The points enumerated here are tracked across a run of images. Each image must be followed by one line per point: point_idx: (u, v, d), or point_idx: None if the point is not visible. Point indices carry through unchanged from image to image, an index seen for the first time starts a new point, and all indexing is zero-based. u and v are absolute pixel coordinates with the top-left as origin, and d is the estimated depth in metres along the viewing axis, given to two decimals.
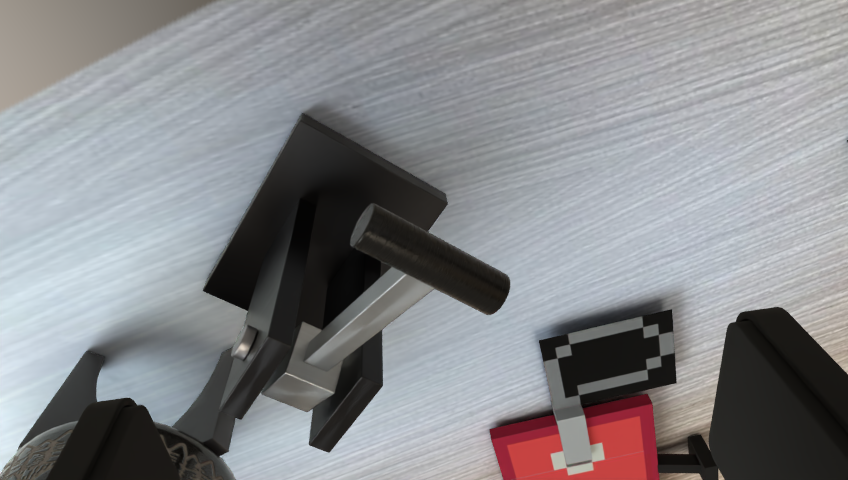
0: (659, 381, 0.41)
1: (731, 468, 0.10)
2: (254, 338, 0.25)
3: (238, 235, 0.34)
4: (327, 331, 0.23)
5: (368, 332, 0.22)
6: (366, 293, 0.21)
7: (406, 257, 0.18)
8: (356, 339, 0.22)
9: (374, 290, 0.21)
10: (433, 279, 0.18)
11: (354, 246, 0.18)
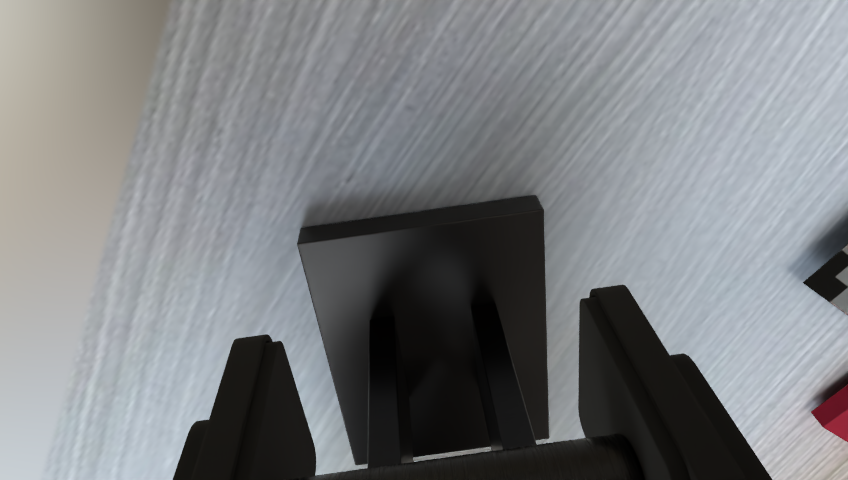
0: None
1: (590, 434, 0.11)
2: None
3: (341, 395, 0.26)
4: None
5: None
6: None
7: None
8: None
9: None
10: None
11: None
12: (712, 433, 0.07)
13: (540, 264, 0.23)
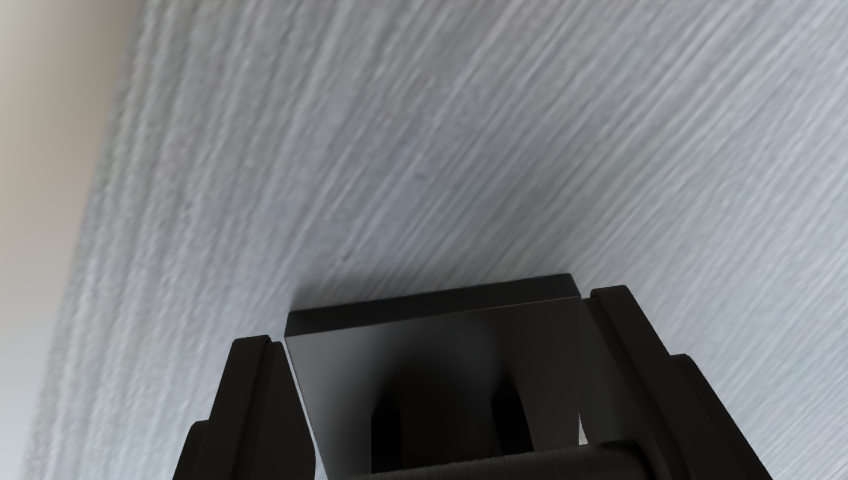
0: None
1: (591, 434, 0.11)
2: None
3: None
4: None
5: None
6: None
7: None
8: None
9: None
10: None
11: None
12: (712, 433, 0.07)
13: (575, 355, 0.20)
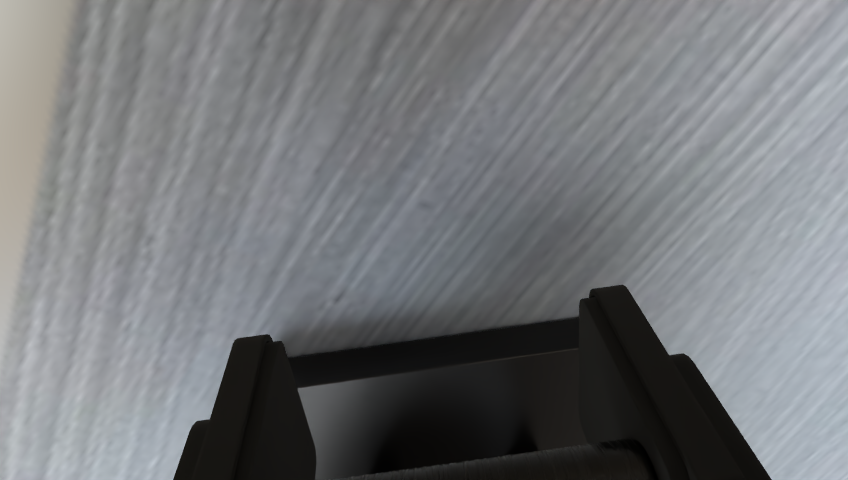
0: None
1: (590, 433, 0.11)
2: None
3: None
4: None
5: None
6: None
7: None
8: None
9: None
10: None
11: None
12: (711, 433, 0.07)
13: None
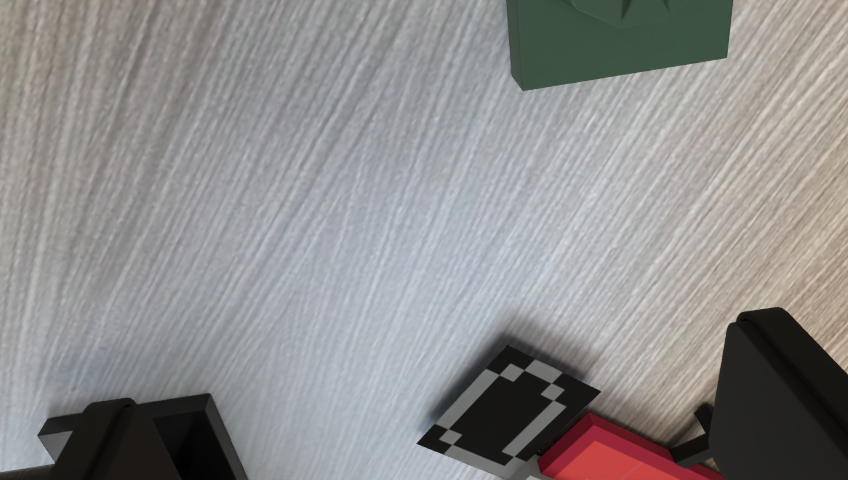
0: (580, 401, 0.34)
1: (731, 468, 0.10)
2: None
3: None
4: None
5: None
6: None
7: None
8: None
9: None
10: None
11: None
12: None
13: (215, 440, 0.33)
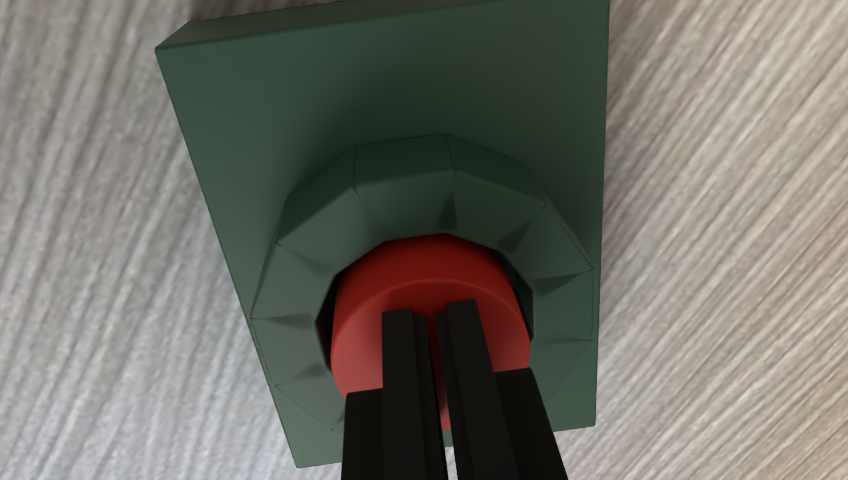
0: None
1: None
2: None
3: None
4: None
5: None
6: None
7: None
8: None
9: None
10: None
11: None
12: (506, 450, 0.07)
13: None
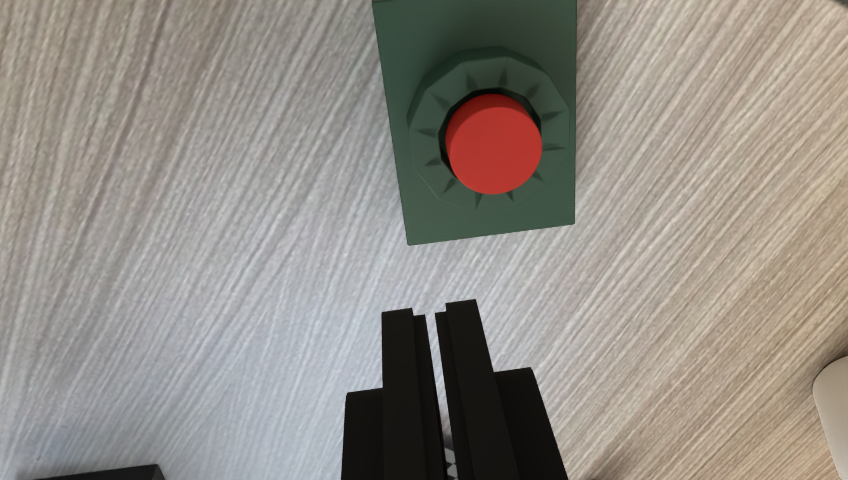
0: None
1: None
2: None
3: None
4: None
5: None
6: None
7: None
8: None
9: None
10: None
11: None
12: (506, 450, 0.07)
13: None
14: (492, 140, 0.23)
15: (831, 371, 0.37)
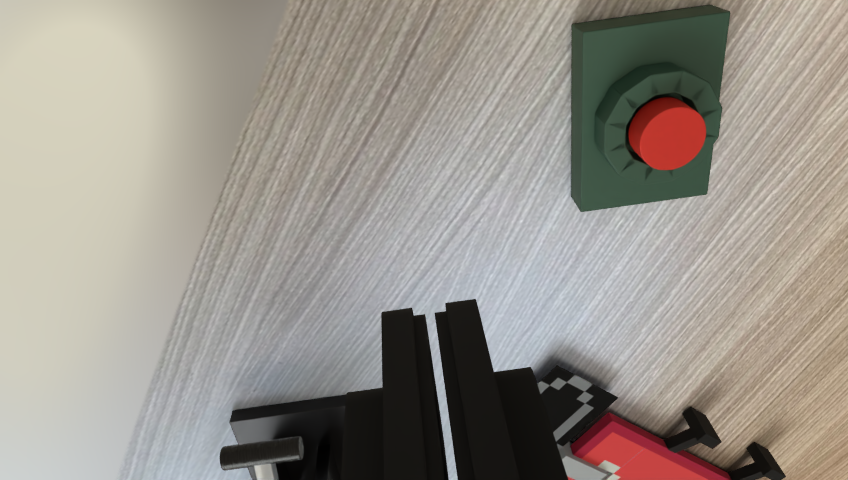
0: (603, 404, 0.48)
1: None
2: None
3: None
4: None
5: None
6: None
7: (243, 456, 0.38)
8: None
9: None
10: (261, 457, 0.38)
11: (222, 467, 0.38)
12: (506, 450, 0.07)
13: None
14: (672, 130, 0.33)
15: None
